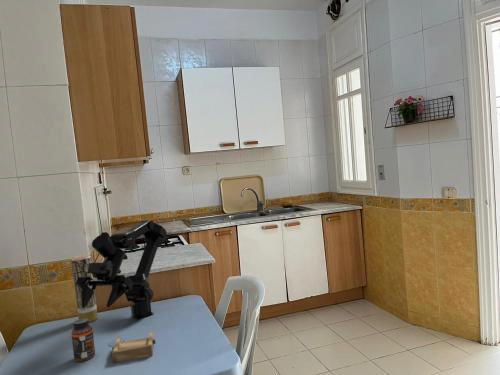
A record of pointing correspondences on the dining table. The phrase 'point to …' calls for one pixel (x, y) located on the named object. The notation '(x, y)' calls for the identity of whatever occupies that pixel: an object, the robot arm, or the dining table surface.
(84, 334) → the supplement bottle
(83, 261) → the paper tube
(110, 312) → the dining table surface
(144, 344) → the holder
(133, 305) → the robot arm
